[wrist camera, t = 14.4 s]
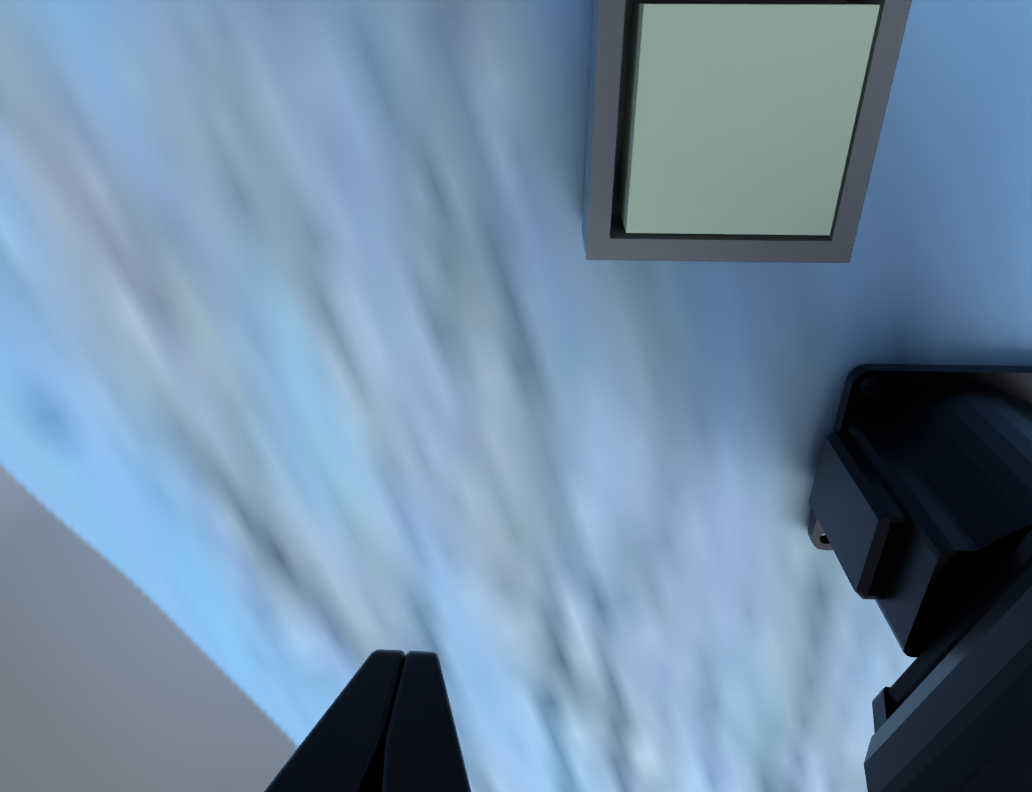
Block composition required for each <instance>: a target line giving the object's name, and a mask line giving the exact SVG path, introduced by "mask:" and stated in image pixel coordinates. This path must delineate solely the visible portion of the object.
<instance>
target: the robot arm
mask: <svg viewBox="0 0 1032 792" xmlns="http://www.w3.org/2000/svg"><path fill="white" fill-rule="evenodd" d="M869 378H873V381H872V383H871V384H870V385H868V386H867V387H860V386H861V384H862V382H863V381H865V380H866V379H869ZM809 503H810V506H811V507H812V509H813V512H812V516H811V519H810V523H809V527H808V535H809V537H810V539H811V541H812V543H813V545H814V546H815V547H817V548H818V549H822V550H834V552H835V554H836V556H837V558H838V560H839V562H840V564H841V566H842V568H843V570H844V571H845V573H846V575H847V577H848V579H849V581H850V583H851V585H852V587H853V589H854V591H855V592H856V593H857V594H858V595H859V596H860V597H861V598H862V599H875V600H876V602H877V604H878V606H879V608H880V609H881V611H882V613H883V615H884V617H885V619H886V621H887V622H888V624H889V626H890V628H891V630H892V632H893V633H894V635H895V637H896V639H897V641H898V643H899V645H900V646H901V648H902V650H903V652H904V653H905V654H906V655H907V656H910V657H917V658H916V660H915V661H914V662H913V663H912V664H911V665H910V666H909V667H908V668H907V670H906V671H905V672H904V673H903V674H902V675H901V676H900V677H899V679H898V680H897V681H896V682H895V683H894V684H893V685H892V686H891V687H885V688H883V690H882V691H881V692H880V693H879V694H878V695H877V696H876V697H875V699H874V700H873V702H872V707H873V718H874V730H875V734H874V735H873V736H872V737H871V741H870V744H869V748H868V751H867V755H866V758H865V762H864V768H865V775H866V782H867V789H868V792H1032V367H1022V366H964V365H906V364H864V365H860V366H858V367H856V368H854V369H853V370H852V371H851V372H850V373H849V375H848V377H847V379H846V383H845V387H844V391H843V395H842V399H841V402H840V406H839V410H838V414H837V418H836V422H835V426H834V430H833V431H831V432H830V433H829V434H828V435H827V436H826V437H825V439H824V443H823V447H822V451H821V455H820V459H819V463H818V467H817V471H816V475H815V479H814V483H813V487H812V491H811V495H810V499H809ZM823 533H825V536H821V535H822V534H823ZM264 792H471V789H470V785H469V781H468V777H467V772H466V768H465V764H464V760H463V756H462V752H461V748H460V744H459V740H458V735H457V731H456V727H455V723H454V719H453V715H452V711H451V707H450V703H449V699H448V694H447V690H446V686H445V682H444V678H443V674H442V670H441V666H440V662H439V658H438V655H437V654H436V653H435V652H424V651H410V652H408V653H407V654H406V655H405V653H404V652H403V651H400V650H381V649H380V650H376V651H374V652H373V653H372V654H371V655H370V656H369V657H368V658H367V660H366V661H365V662H364V664H363V665H362V666H361V667H360V669H359V670H358V671H357V673H356V674H355V675H354V676H353V678H352V679H351V680H350V682H349V683H348V684H347V686H346V687H345V688H344V689H343V691H342V692H341V693H340V695H339V696H338V697H337V698H336V700H335V701H334V702H333V704H332V705H331V706H330V707H329V709H328V710H327V711H326V713H325V714H324V715H323V716H322V718H321V719H320V720H319V722H318V723H317V724H316V725H315V727H314V728H313V729H312V731H311V732H310V733H309V734H308V736H307V737H306V738H305V740H304V741H303V742H302V743H301V745H300V746H299V747H298V749H297V750H296V751H295V753H294V754H293V755H292V756H291V758H290V759H289V760H288V762H287V763H286V764H285V765H284V767H283V768H282V769H281V771H280V772H279V773H278V774H277V776H276V777H275V778H274V780H273V781H272V782H271V783H270V785H269V786H268V787H267V789H266V790H265V791H264Z"/></svg>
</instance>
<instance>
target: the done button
mask: <svg viewBox="0 0 1032 792" xmlns="http://www.w3.org/2000/svg"><path fill="white" fill-rule="evenodd" d="M879 8H880V5H872V4H848V3H633V8H632V22H631V36H630V50H629V64H628V78H627V92H626V106H625V120H624V134H623V148H622V162H621V176H620V190H619V204H618V210H619V213H620V216H621V219H622V222H623V225H624V228H625V231H626V233H677V234H760V235H830V231H831V227H832V222H833V218H834V213H835V208H836V204H837V199H838V195H839V190H840V186H841V181H842V177H843V172H844V167H845V163H846V158H847V154H848V149H849V145H850V140H851V135H852V131H853V126H854V122H855V117H856V113H857V108H858V104H859V99H860V94H861V90H862V85H863V81H864V76H865V72H866V67H867V62H868V58H869V53H870V49H871V44H872V40H873V35H874V31H875V26H876V21H877V17H878V12H879Z"/></svg>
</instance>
